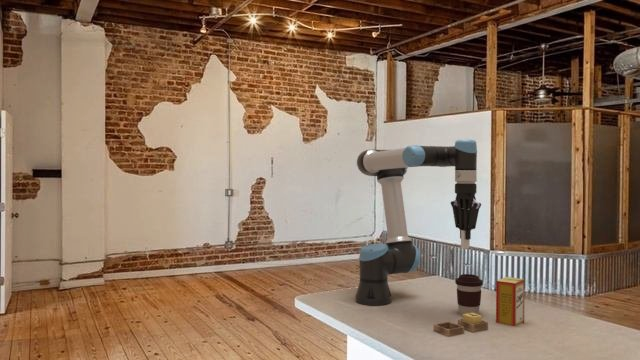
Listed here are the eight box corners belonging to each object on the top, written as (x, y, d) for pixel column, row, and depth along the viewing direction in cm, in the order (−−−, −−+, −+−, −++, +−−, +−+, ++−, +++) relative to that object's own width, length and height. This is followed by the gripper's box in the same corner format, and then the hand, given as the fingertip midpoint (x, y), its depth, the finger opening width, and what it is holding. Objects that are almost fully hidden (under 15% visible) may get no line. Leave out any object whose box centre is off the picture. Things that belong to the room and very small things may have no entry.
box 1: (433, 333, 173) (433, 324, 173) (449, 330, 177) (449, 321, 177) (448, 339, 167) (448, 330, 167) (464, 336, 171) (464, 327, 171)
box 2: (457, 328, 178) (457, 319, 178) (472, 325, 181) (472, 317, 181) (472, 334, 171) (472, 325, 171) (488, 331, 175) (488, 322, 175)
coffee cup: (483, 319, 190) (484, 278, 189) (455, 318, 192) (456, 277, 191) (481, 312, 199) (481, 273, 199) (454, 311, 201) (454, 272, 201)
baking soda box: (514, 328, 179) (515, 282, 179) (496, 325, 183) (496, 279, 183) (524, 322, 186) (524, 278, 186) (506, 319, 190) (506, 275, 190)
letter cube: (462, 327, 177) (462, 313, 177) (472, 325, 179) (472, 312, 179) (472, 330, 173) (472, 317, 173) (482, 329, 176) (482, 315, 175)
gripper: (445, 182, 191) (444, 246, 191) (471, 183, 179) (470, 251, 180) (460, 182, 194) (459, 245, 195) (487, 183, 183) (486, 250, 183)
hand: (465, 248), depth 187 cm, fingers closed
